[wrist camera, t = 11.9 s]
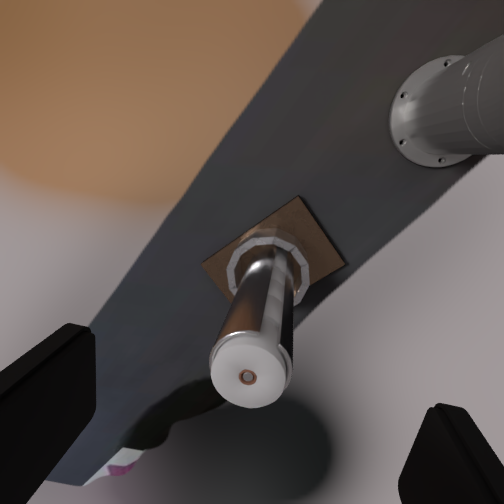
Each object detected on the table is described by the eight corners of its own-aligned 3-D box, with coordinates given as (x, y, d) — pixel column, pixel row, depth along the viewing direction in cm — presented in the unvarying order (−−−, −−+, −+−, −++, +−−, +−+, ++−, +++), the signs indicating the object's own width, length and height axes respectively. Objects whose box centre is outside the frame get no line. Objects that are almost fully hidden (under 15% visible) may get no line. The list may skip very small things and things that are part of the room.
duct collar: (298, 195, 44) (298, 201, 38) (343, 261, 46) (350, 277, 40) (203, 261, 49) (190, 276, 43) (247, 318, 51) (241, 340, 45)
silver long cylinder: (302, 271, 46) (309, 395, 22) (264, 290, 48) (234, 423, 24) (280, 234, 45) (262, 323, 21) (242, 255, 47) (188, 359, 23)
